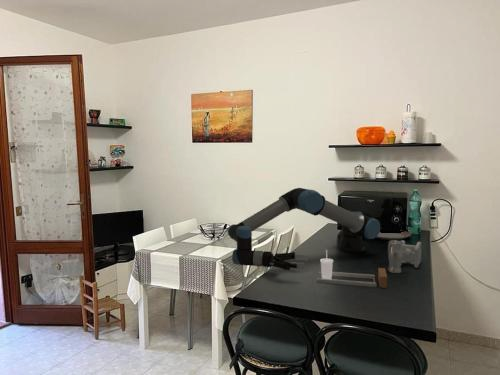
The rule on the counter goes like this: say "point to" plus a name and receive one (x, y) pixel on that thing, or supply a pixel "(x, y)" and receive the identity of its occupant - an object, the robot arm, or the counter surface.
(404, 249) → the cable organizer
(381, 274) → the channel
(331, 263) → the beverage cup
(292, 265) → the robot arm
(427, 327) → the counter surface
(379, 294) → the counter surface
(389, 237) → the dinner plate
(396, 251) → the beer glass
